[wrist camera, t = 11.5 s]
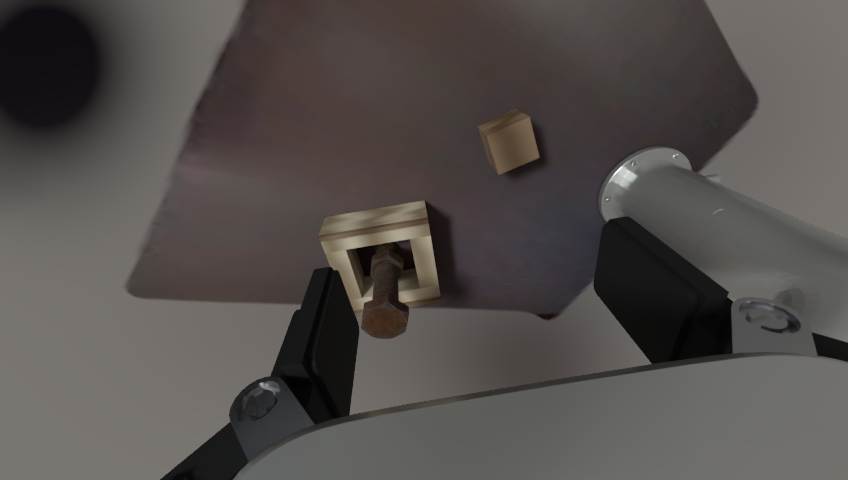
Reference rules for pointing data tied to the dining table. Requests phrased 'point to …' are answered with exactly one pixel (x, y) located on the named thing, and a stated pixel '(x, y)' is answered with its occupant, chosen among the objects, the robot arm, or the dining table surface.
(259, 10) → the dining table surface
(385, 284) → the bolt
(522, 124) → the walnut cube
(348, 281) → the socket
